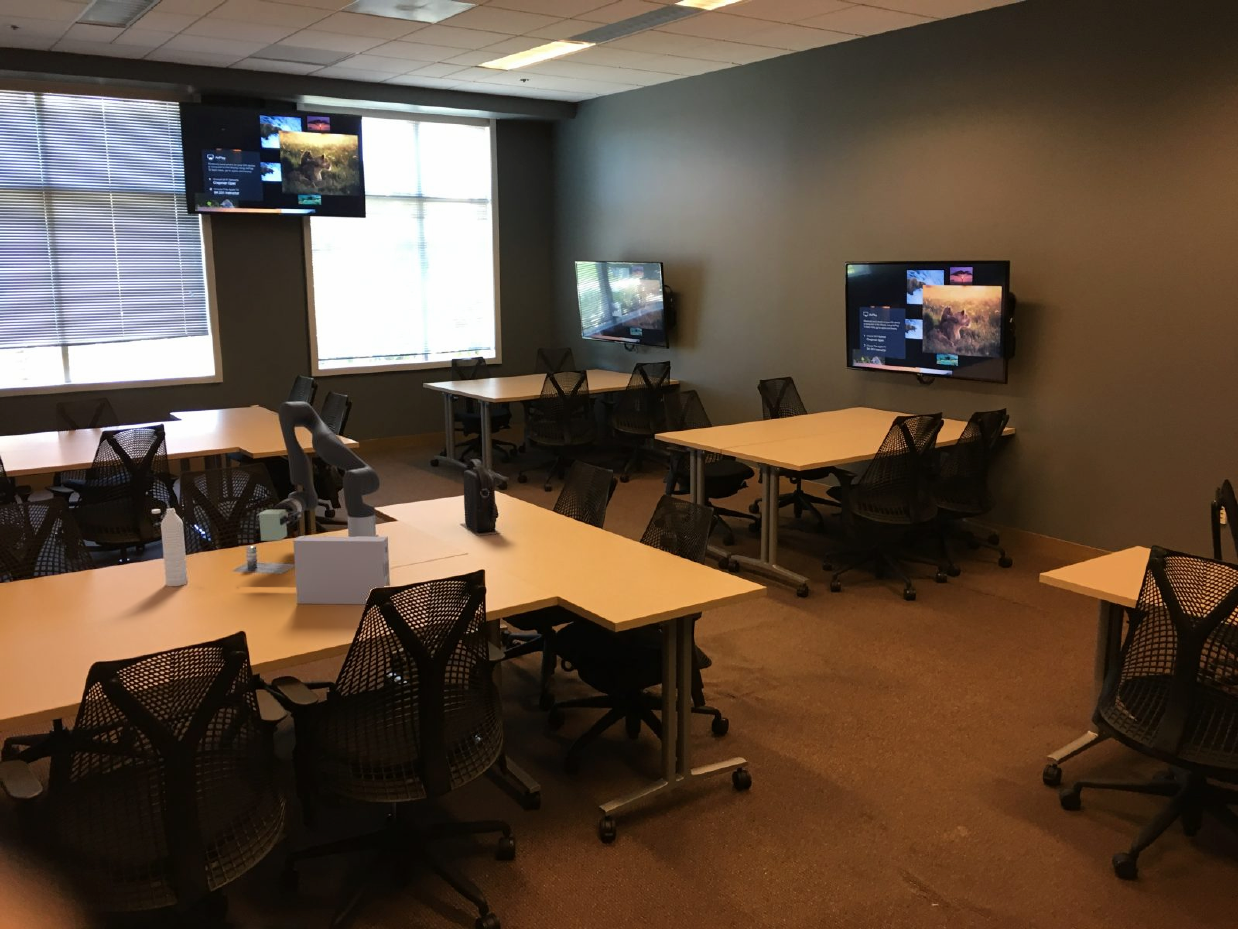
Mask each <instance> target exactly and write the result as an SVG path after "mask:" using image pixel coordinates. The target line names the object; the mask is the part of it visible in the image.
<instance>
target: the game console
mask: <svg viewBox="0 0 1238 929" xmlns="http://www.w3.org/2000/svg"><path fill="white" fill-rule="evenodd" d="M292 541H293V554H294V555H293V556H294V557H293V558H294V564H295V567H294V574H295V588H296V590H295V591H296V604H297V605H299V604H300V605H301V604H303V605H305V604H307V605H311V604H312V605H315V604H317V605H322V604H323V605H367V604H366V599H367V598H368V596H369V593H370V590H371V589H373V588H375V587H384V586H390V587H391V582H390V581H391V579H390V552H389V536H378V537H368V536H356V537H349V536H307V535H301V536H300V535H299V536H298V537H296V538H295V539H293V540H292Z"/></svg>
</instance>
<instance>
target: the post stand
mask: <svg viewBox="0 0 1238 929" xmlns="http://www.w3.org/2000/svg"><path fill="white" fill-rule="evenodd" d="M245 549H246V550H245V552H246V553H245V554H246V555H245V557H246V563H244V564H242V565H240V566H238V567H237V568H235V569H232V570H231V572H239V573H240V572H241V573H243V572H244V573H258V574H276V575H282V574H283V573H285V572H288V571H289V570H291V569H292V568H295V563H294V564H293V563H277V562H276V563H275V562H274V563H273V562H261V561H260V562H258V560H259V559H258V550H257V545H247V546H246V547H245Z"/></svg>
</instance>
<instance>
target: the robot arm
mask: <svg viewBox="0 0 1238 929" xmlns="http://www.w3.org/2000/svg"><path fill="white" fill-rule="evenodd" d="M278 420H279V426H280V429H281V432H282V438H283V441H284V445H285V450H286V453H287V457H288V458H287V459H288V464H289V466H288V467H289V477H290V483H291V484H292V485H294V486H300V487H302V488H303V489H304V490H303V491H293V492H291V493H289V494H288V497H287V498H286V499H284V500H282V501H281V502H279V503H278V504H276V505H275V506H274V507H273V509H272V510H285V514H286V515H285V516H283V517H282V518H280V525H283V524H285V523H286V525H287V524H290V523H291V524H292V523H293V524H294V523H295V522H298V521H300V520H301V519H302V514H303V513H304V511H312V510H316V509H317V507H318V504H319V497H318V494H317V492H316V490H315V487H314V484H313V481H312V475H311V466H310V460H309V457H308V455H307V453H306V452H305V450H304V449H303V447H302V446H301V444H300V443H299V441H298V439H297V436H296V428H305V429H306V430H307V431H308V432H310V434H311V445H312V449H313V450H314V453H316V454H317V455H318V456H319V457H320V458H321V459H322V460H323V461H324V462H325V463H326V464H329V465H331V466H333V467H336V468H338V469H341V470H343V471H345V473H344V475H343V480H342V488H343V498H344V506H345V508H346V514H347V532H348V536H347V537H356V536H368V537H379V535H378V534H377V531H376V530H377V529H376V527H377V526H376V525H377V524H376V508H375V506H374V505H373V504H370V503H364V500H363V496H366V495H367V496H368V495H371V494H374V493H376V492H377V491H378V490H379V489H380V483H381V481H380V478H379V475H378V474H377V472H376V471H375V470H374V469H373V468H372V466H370V465H369V464H367V462H365V461H363V460H362V459H361V458H360V457H359V456H358V455H357V454H355V452H353V451H352V450H351V449H350V448H349V447H348V446H347V445H346V444H345V443H344V442H343V440H342V439H341V438H339V436H338V435H336V434H335V433H334V432H333V431H332V430H331V429H330V427H329V426H328V425H327V424H326V423H325V422H324V421H323V420H322V419H321V417H320V415H319V414H318V413H317V412H316V410H315V409H314V408H313V406H311V404H310V403H308V402H306V401H303V400H301V401H284V402H283V403H281V404H280V406H279V408H278ZM262 512H263V511H260V512H259V513H258V514H257V515H256V523H257V524H258V525H259V526H260V519H259V514H260V513H262Z"/></svg>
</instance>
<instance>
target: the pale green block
mask: <svg viewBox="0 0 1238 929" xmlns="http://www.w3.org/2000/svg"><path fill="white" fill-rule="evenodd" d="M261 512H262V513H260V512H259V513H260V514H259V513H258V514H259V519H260V525H259V530H260V531H259V532H260V541H268V542H269V541H282V540H283V539H284V538H286V537H287V536H288V531H287V530H288V529H287V524H286V523H285V524H283V525H280V518H282V517H283V516H285V515H286V514H285V510H273V509H265V510H263V511H261Z"/></svg>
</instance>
